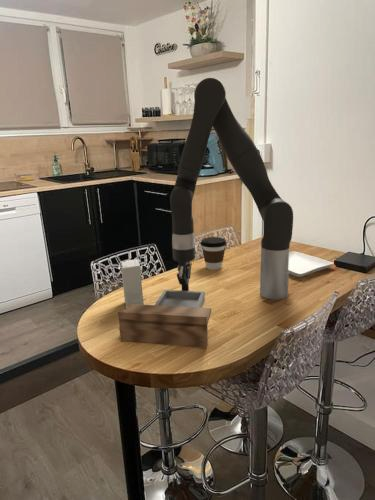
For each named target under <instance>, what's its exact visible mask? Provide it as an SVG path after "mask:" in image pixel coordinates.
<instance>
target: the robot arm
mask: <svg viewBox="0 0 375 500" xmlns="http://www.w3.org/2000/svg"><path fill="white" fill-rule="evenodd" d="M193 93H194V94H193V95H194V96H193V97H194V103H193V105H194V106H193V112H192V113H193V115H192V119H191V124H190V128H189V131H188V134H187V137H186V140H185V143H184V145H183V149H182V152H181V156H180V160H179V164H178V168H177V176H176V179H175V183H174V187H173V189H172V191H171V193H170V195H169V205H170V212H171V213H170V214H171V217H172V218H171V219H172V220H171V221H172V223H171V224H172V225H171V226H172V229H171V230H172V236H171V237H172V238H171V240H172V241H171V245H172V246H171V247H172V259H173V261H175V262H178V265H177V271H178V273H177V274H176V278H177V282H178V284H179V285H181V291H190V289H189V287H190V285H189V283H190V279H191V275H192V274H191V271H192V265H193V264H192V261H194V260H195V258H196V243H195V242H196V238H195V233H194V232H195V230H194V229H195V228H194V218H193V199H194V195H195V191H196V187H197V182H198V179H199V176H200V173H201V170H202V166H203V163H204V161H205V160H204V159H205V155H206V152H207V148H208V144H209V138H210V134H211V132H212V129H213V130H214V131H215V134H216V136H217V138H218V141H219V143H220V146H221V147H222V150H223V152H224V154H225V156H226V157H227V159H228V161H229V163H230V165H231V167H232V168H233V170H234V172H235V173H236V174H237V176H238V178H239V179H240V181H241V182H242V183H243V185H244V186H245V187H246V189H247V190H248V192H249V194H250V195H251V197H252V199H253V201H254V203H255V205H256V208H257V209H258V213H259V214H260V215H259V216H260V217H261V219H262V220H263V225H264V226H263V236H262V238H261V241H260V247H261V248H260V279H259V281H260V282H259V286H260V287H259V295H260V296H261V297H262V298H265V299H268V300H282V299H283V300H284V299H288V297H289V277H290V274H289V270H288V267H289V252H290V244H291V242H292V237H293V227H294V211H293V208H292V206H291V205H290V204H289V203H288V202H287V201H285V200H284V199H282V197H281V196H280V195H279V194H278V192H277V190H276V189H275V187H274V186H273V185H272V183H271V180H270V178H269V175H268V171H267V169H266V165H265V162H264V160H263V158H262V155H261V154H260V152H259V149H258V148H257V146H256V144H255V143H254V142H253V140H252V138H251V136H250V135H249V134H248V132H247V131H246V130H245V128H244V127H243V125H241V124H240V122H239V121H238V119H237V118H236V117H235V115H234V113H233V112H232V111H233V110H232V109H231V107H230V104H229V102H228V100H227V96H226V88H225V86H224V84H223V82H222V81H221V80H219V79H218V78H215V77H206V78H204V79H201V80H200V82H198V84H197V85H196V86H195V88H194V92H193Z"/></svg>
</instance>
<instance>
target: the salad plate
mask: <svg viewBox="0 0 375 500" xmlns="http://www.w3.org/2000/svg"><path fill="white" fill-rule="evenodd" d="M334 264H335V263H334V262H332V261H329V260H326V259H324V258H320V257H317V256H314V255H309V254H306V253H302V252H299V251H295V250H294V251H289V267H288V270H289V276H294V277H299V278H301V277H304V276H307V275H312V274H313V273H316V272H319V271H323V270H325V269H327V268H330V267H332V266H333V265H334Z"/></svg>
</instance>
